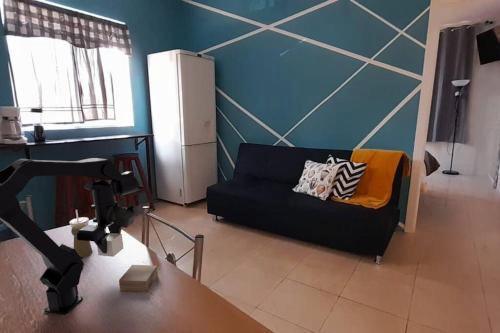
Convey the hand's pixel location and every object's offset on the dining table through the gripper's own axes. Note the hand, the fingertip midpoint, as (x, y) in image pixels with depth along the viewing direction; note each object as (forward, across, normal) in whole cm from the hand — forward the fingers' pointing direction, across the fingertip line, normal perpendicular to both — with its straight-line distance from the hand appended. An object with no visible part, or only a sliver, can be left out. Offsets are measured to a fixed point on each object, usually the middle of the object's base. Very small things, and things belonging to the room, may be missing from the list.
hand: (110, 248), depth 87 cm
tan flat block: (+10, -2, -10) cm, 14 cm away
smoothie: (+10, +18, +26) cm, 33 cm away
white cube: (+1, 0, 0) cm, 1 cm away
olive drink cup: (+10, +11, +20) cm, 25 cm away
